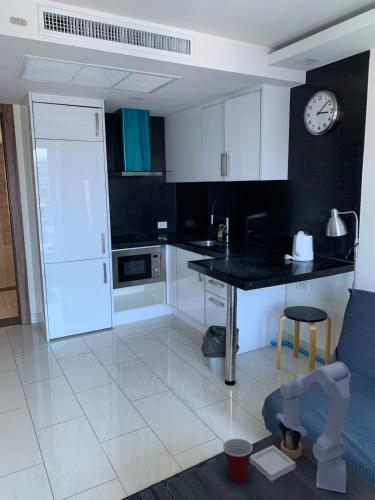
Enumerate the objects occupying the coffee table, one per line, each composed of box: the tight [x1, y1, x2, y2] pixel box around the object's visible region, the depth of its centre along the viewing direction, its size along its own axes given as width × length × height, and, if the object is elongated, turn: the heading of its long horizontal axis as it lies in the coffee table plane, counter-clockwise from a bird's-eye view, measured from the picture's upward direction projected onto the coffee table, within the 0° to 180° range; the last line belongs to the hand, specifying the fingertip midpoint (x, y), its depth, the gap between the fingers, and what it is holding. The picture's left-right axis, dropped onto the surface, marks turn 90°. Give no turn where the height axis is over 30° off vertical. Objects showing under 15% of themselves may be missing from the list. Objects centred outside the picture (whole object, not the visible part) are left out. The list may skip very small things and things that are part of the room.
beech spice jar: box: [286, 428, 297, 450], centre depth 150 cm, size 4×4×9 cm
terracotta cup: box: [280, 439, 303, 459], centre depth 150 cm, size 8×8×3 cm
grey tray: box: [249, 444, 296, 482], centre depth 143 cm, size 12×12×2 cm
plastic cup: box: [222, 438, 254, 483], centre depth 138 cm, size 11×11×12 cm
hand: (291, 443), depth 150 cm, fingers closed on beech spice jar, 4 cm apart
